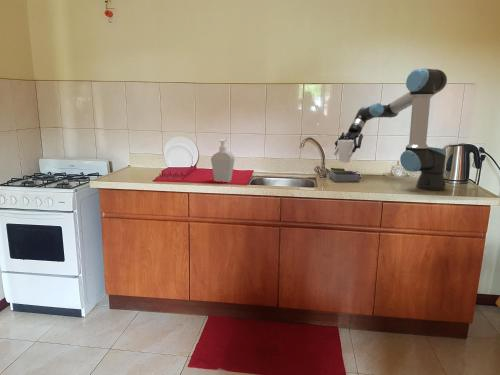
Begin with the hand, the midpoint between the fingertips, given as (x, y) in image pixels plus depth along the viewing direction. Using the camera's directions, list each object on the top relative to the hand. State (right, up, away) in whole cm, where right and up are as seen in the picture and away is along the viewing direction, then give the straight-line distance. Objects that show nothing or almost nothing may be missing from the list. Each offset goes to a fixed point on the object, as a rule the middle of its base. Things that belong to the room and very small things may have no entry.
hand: (342, 155), depth 232 cm
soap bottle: (-73, -16, -1) cm, 74 cm away
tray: (+2, -15, +5) cm, 16 cm away
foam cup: (+2, -4, +3) cm, 6 cm away
